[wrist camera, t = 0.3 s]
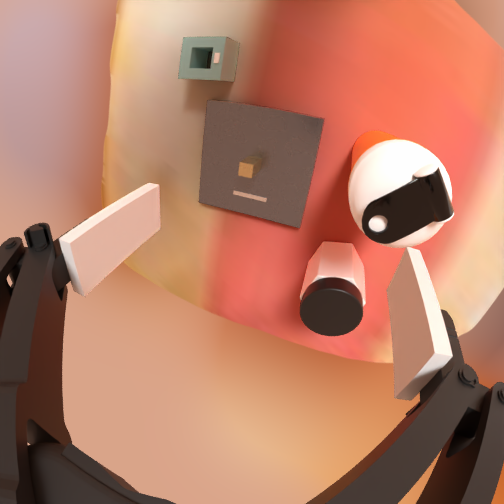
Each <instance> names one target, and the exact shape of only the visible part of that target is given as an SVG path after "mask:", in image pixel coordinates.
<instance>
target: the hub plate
mask: <svg viewBox="0 0 504 504" xmlns="http://www.w3.org/2000/svg"><path fill="white" fill-rule="evenodd" d="M324 120H325V119H324V118H319V117H315V116H311V115H306V114H302V113H297V112H292V111H287V110H282V109H276V108H270V107H264V106H258V105H251V104H244V103H237V102H228V101H219V100H207V109H206V119H205V129H204V140H203V151H202V164H201V177H200V192H199V203H204V204H208V205H212V206H216V207H220V208H224V209H228V210H232V211H236V212H240V213H244V214H248V215H252V216H256V217H259V218H263V219H267V220H271V221H275V222H278V223H282V224H286V225H289V226H293V227H297V228H300V226H301V222H302V218H303V214H304V210H305V206H306V201H307V197H308V193H309V189H310V184H311V180H312V176H313V171H314V167H315V162H316V158H317V153H318V148H319V144H320V139H321V134H322V129H323V124H324Z"/></svg>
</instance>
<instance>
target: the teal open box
mask: <svg viewBox="0 0 504 504" xmlns="http://www.w3.org/2000/svg"><path fill="white" fill-rule="evenodd" d="M239 46H240V43H238V42H236V41H234V40H232V39H230V38H228V37H184V38H183V44H182V51H181V58H180V66H179V75H178V79H198V80H216V81H229V82H234V80H235V73H236V66H237V59H238V52H239ZM209 52H213V53H212V60H211V68H210V69H206V68H207V60H208V53H209Z"/></svg>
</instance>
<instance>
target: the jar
mask: <svg viewBox="0 0 504 504" xmlns="http://www.w3.org/2000/svg"><path fill="white" fill-rule="evenodd" d="M300 299H301V303H300V304H301V305H300V316H301V319H302V321H303V323H304V324H305V325H306V326H307V327H308V328H309V329H310V330H312V331H314V332H316V333H318V334H321V335H325V336H340V335H344V334H347V333H349V332H351V331H352V330H354V329H355V328H356V327H357V326H358V325H359V323H360V322H361V320H362V317H363V306H364V305H365V304H366V299H365V278H364V266H363V264H362V261H361V259H360V257H359V255H358V253H357V251H356V249H355V247H354V245H353V244H352V243H340V242H327V241H323V242H322V244H321V245H320V247H319V248H318V249H317V251H316V252H315V253H314V255H313V256H312V257H311V259H310V260H309V262H308V266H307V270H306V274H305V278H304V282H303V286H302V290H301V294H300Z"/></svg>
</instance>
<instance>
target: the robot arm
mask: <svg viewBox="0 0 504 504" xmlns="http://www.w3.org/2000/svg"><path fill="white" fill-rule="evenodd" d="M160 229H161V222H160V185H158V184H153V183H147V184H145V185H143V186H142V187H140V188H138V189H136V190H135V191H133V192H131V193H129V194H128V195H126V196H124V197H122V198H121V199H119V200H117V201H116V202H114V203H112V204H111V205H109V206H108V207H106V208H104V209H103V210H101V211H100V212H98V213H96V214H95V215H93V216H92V217H90V218H88V219H86V220H84V221H83V222H81V223H80V224H79V225H77V226H75V227H74V228H73V229H71V230H69V231H68V232H66V233H65V234H64V235H62V236H61V237H59V238H58V239H56V240H55V241H53V239H52V235H51V231H50V227H49V225H48V224H47V223H38V224H35V225H32V226H30V227H29V228H28V229H26V230H25V232H24V235H25V239H26V241H27V245H28V247H24V246H23V243H22V239H21V238H20V237H13V238H9V239H8V240H7V241H5V242H4V243H3V244H2V245H1V246H0V504H175V503H173V502H171V501H168V500H166V499H161V498H156V497H153V496H148V495H145V494H141V493H139V492H138V491H136V490H135V489H134V488H133V487H132V486H131V485H129V484H128V483H127V482H126V481H125V480H124V479H123V478H121V477H120V476H118V475H116V474H115V473H113V472H111V471H110V470H108V469H107V468H105V467H104V466H102V465H101V464H100V463H98V462H97V461H95V460H94V459H92V458H91V457H89V456H88V455H86V454H85V453H83V452H82V451H81V450H79V449H78V448H77V447H75V446H74V445H73V444H72V441H71V437H70V435H69V432H68V430H67V428H66V426H65V422H64V414H63V397H62V352H63V351H62V350H63V333H64V320H65V310H66V301H67V293H68V290H67V286H66V284H67V283H68V282H70V281H71V284H72V287H73V290H74V291H75V292H77V293H79V294H81V295H82V296H86V295H87V294H88V293H89V292H90V291H91V290H92V289H94V288H95V287H96V286H97V285H98V284H99V283H100V282H101V281H102V280H103V279H104V278H105V277H106V276H107V275H108V274H110V273H111V272H112V271H113V270H114V269H115V268H116V267H117V266H118V265H119V264H120V263H122V262H123V261H124V260H125V259H126V258H127V257H128V256H130V255H131V254H132V253H133V252H134V251H135V250H136V249H138V248H139V247H140V246H141V245H142V244H143V243H145V242H146V241H147V240H148V239H149V238H150V237H152V236H153V235H154V234H155V233H156V232H157V231H159V230H160ZM8 275H9V276H10V278H11V280H12V283H13V284H12V285H11V287H10V286H9V284H8V282H7V276H8ZM387 297H388V305H389V313H390V323H391V334H392V347H393V363H394V398H397V399H404V400H412V399H413V398H414V397H415V396H416V395H417V394H418V393H419V392H420V402H418V404H416V406H414V407H413V408H412V409H411V410H410V411H408V412H407V413H406V415H407V416H406V417H405V418H404V419H403V420H402V421H401V422H400V423H399V424H398V425H397V427H396V428H395V429H394V430H393V431H392V432H391V433H390V434H389V435H388V436H387V437H386V438H385V439H384V440H383V441H382V442H381V443H380V444H379V445H378V446H377V447H376V448H375V449H374V450H373V451H372V452H371V453H369V454H368V455H367V456H366V457H365V458H364V459H363V460H362V461H360V462H359V463H358V464H357V465H356V466H355V467H354V468H352V469H351V470H350V471H349V472H348V473H346V474H345V475H344V476H343V477H341V478H340V479H339V480H338V481H336V482H335V483H334V484H332V485H331V486H330V487H328V488H327V489H326V490H324V491H323V492H322V493H320V494H319V495H318V496H316V497H315V498H313V499H312V500H310V501H309V502H307V503H306V504H398V502H399V501H400V500H401V499H402V498H403V497H404V496H405V495H406V494H407V492H409V490H410V489H411V488H412V487H413V486H414V485H415V483H416V482H417V481H418V480H419V478H420V477H421V476H422V475H423V474H424V472H425V471H426V470H427V468H428V467H429V466H430V465H431V463H432V462H433V461H434V459H435V458H436V457H437V455H438V454H439V452H440V451H441V449H442V451H441V453H440V456H439V458H438V460H437V463H436V465H435V467H434V469H433V471H432V474H431V476H430V478H429V480H428V482H427V484H426V486H425V488H424V490H423V492H422V494H421V495H420V497H419V499H418V501H417V503H416V504H491V502H492V499H493V496H494V493H495V490H496V487H497V484H498V481H499V477H500V474H501V470H502V466H503V462H504V383H502V382H497V383H496V384H495V385H494V386H493V387H492V388H491V389H489V388H487V387H485V386H483V385H481V384H479V381H478V377H477V375H476V372H475V371H474V370H473V369H472V368H471V367H470V366H469V365H467V364H465V363H464V360H463V356H462V351H461V348H460V344H459V340H458V339H457V333H456V331H455V326H454V323H453V320H452V318H451V317H450V315H449V314H448V312H447V311H445V310H441V309H440V306H439V303H438V300H437V297H436V294H435V291H434V288H433V285H432V282H431V279H430V276H429V274H428V271H427V268H426V265H425V263H424V260H423V258H422V255H421V253H420V250H417V249H413V248H410V247H406V249H405V251H404V254H403V256H402V258H401V260H400V263H399V265H398V267H397V269H396V271H395V274H394V276H393V278H392V280H391V282H390V284H389V286H388V288H387ZM27 442H28V443H29V444H30V445H27Z"/></svg>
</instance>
